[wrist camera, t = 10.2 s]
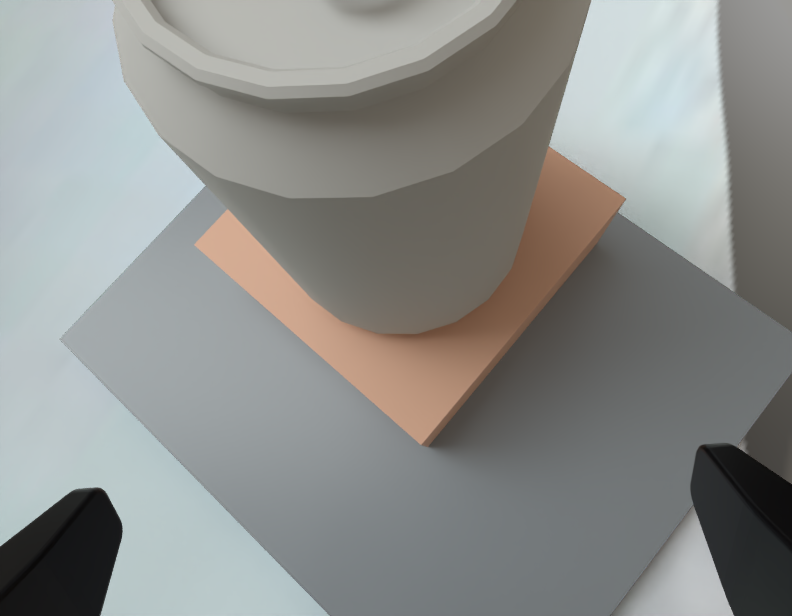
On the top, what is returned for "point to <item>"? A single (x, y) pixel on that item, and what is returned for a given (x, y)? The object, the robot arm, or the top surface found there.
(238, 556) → the top surface
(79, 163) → the top surface
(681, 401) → the baseplate
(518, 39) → the can
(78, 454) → the top surface
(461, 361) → the block
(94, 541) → the robot arm
